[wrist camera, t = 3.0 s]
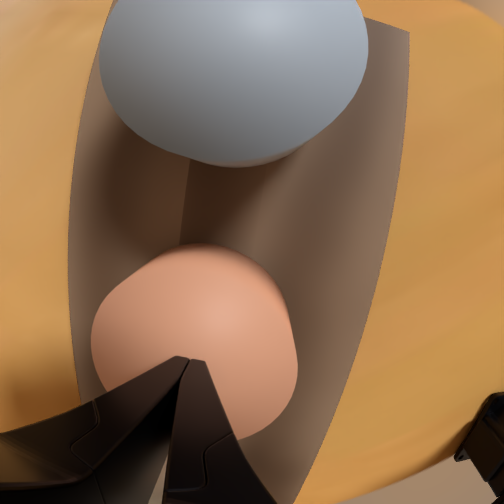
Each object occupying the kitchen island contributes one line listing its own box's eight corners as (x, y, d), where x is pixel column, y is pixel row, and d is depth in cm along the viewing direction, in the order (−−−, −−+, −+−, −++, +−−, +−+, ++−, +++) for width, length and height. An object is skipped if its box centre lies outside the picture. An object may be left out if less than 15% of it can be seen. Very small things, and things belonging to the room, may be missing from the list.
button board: (388, 52, 11) (409, 32, 9) (288, 480, 17) (290, 508, 14) (133, 21, 11) (114, -2, 9) (110, 447, 17) (98, 472, 14)
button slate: (328, 42, 10) (370, -38, 5) (309, 183, 12) (352, 184, 6) (182, 25, 10) (137, -55, 5) (155, 161, 12) (76, 150, 6)
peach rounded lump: (295, 242, 13) (320, 287, 8) (270, 365, 15) (274, 454, 9) (155, 221, 13) (88, 248, 8) (148, 343, 15) (100, 418, 9)
